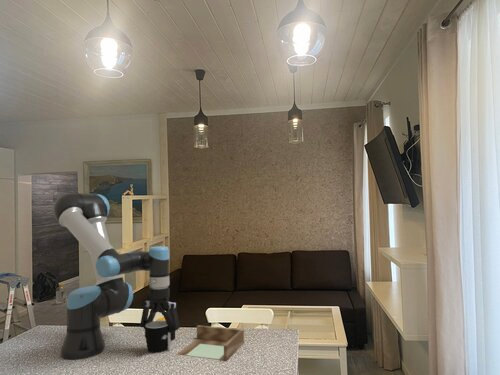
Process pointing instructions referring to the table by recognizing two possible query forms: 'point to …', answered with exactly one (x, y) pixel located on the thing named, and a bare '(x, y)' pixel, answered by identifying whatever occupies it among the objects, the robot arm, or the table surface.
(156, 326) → the mug
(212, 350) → the pad
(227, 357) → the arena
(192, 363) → the table surface
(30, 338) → the table surface
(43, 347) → the table surface
